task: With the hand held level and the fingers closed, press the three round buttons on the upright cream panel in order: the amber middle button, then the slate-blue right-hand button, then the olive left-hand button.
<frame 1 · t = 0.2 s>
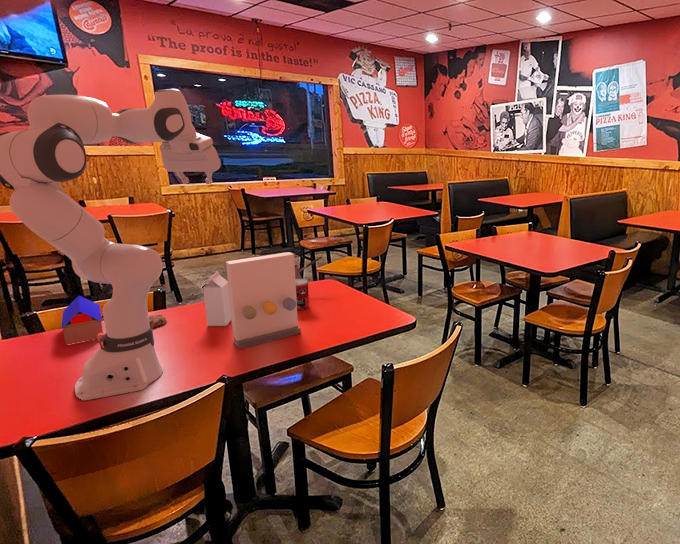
hand: (197, 183, 147), 52 cm above the table, tool tilted 20°, fingers open, 8 cm apart
amber button: (269, 307, 144), point 12 cm above the table, slide at 0.0 cm
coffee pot: (303, 292, 198), on the table
olive button: (249, 312, 141), point 12 cm above the table, slide at 0.0 cm
canned food: (299, 307, 179), on the table
slate button: (289, 303, 148), point 12 cm above the table, slide at 0.0 cm
button panel: (266, 336, 152), on the table
cookie: (152, 325, 165), on the table
house: (85, 333, 160), on the table
milk carton: (220, 323, 165), on the table
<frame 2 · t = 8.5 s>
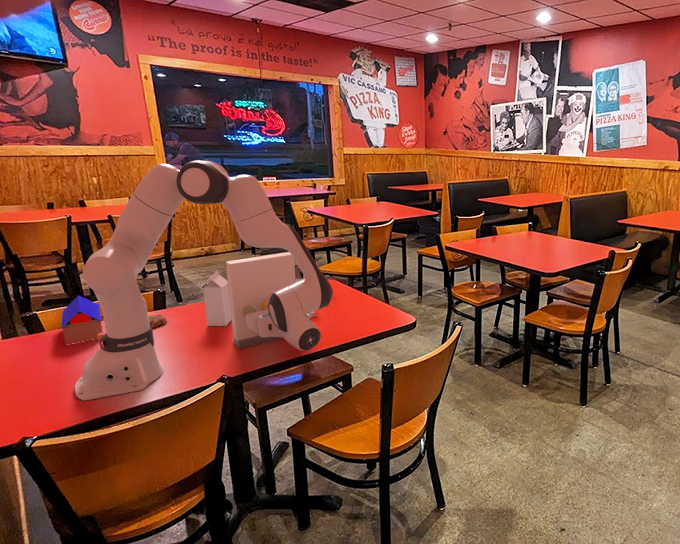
hand: (269, 308, 144), 12 cm above the table, tool horizontal, fingers closed, pressing on amber button
amber button: (268, 307, 145), point 12 cm above the table, slide at 1.0 cm, touching gripper
everything else where it was.
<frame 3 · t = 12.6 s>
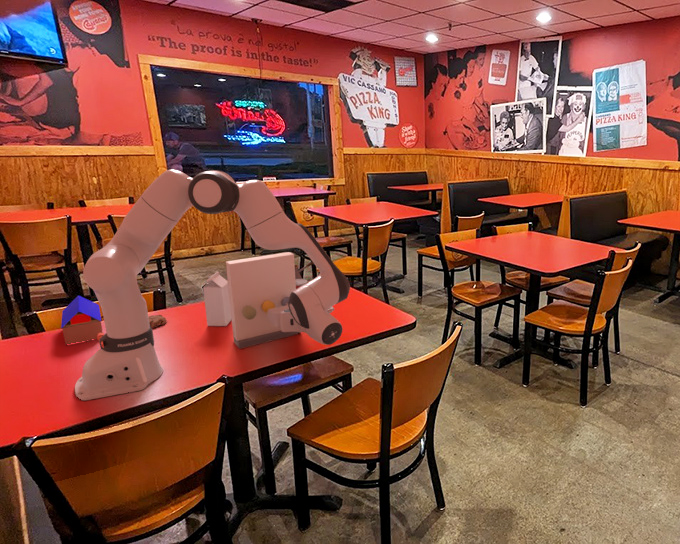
hand: (289, 304, 147), 12 cm above the table, tool horizontal, fingers closed, pressing on slate button
amber button: (268, 306, 145), point 12 cm above the table, slide at 1.3 cm
slate button: (287, 302, 149), point 12 cm above the table, slide at 1.0 cm, touching gripper
everything else where it was.
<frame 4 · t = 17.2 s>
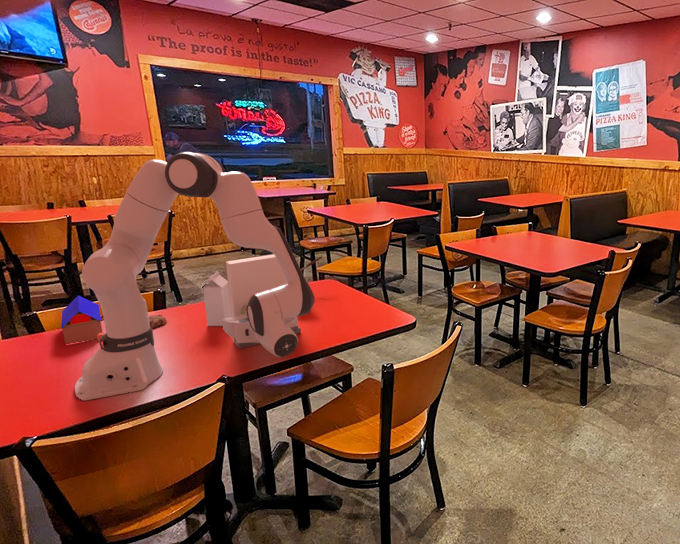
hand: (249, 312, 141), 12 cm above the table, tool horizontal, fingers closed, pressing on olive button
olive button: (248, 311, 142), point 12 cm above the table, slide at 1.0 cm, touching gripper
slate button: (287, 302, 149), point 12 cm above the table, slide at 1.3 cm
everything else where it was.
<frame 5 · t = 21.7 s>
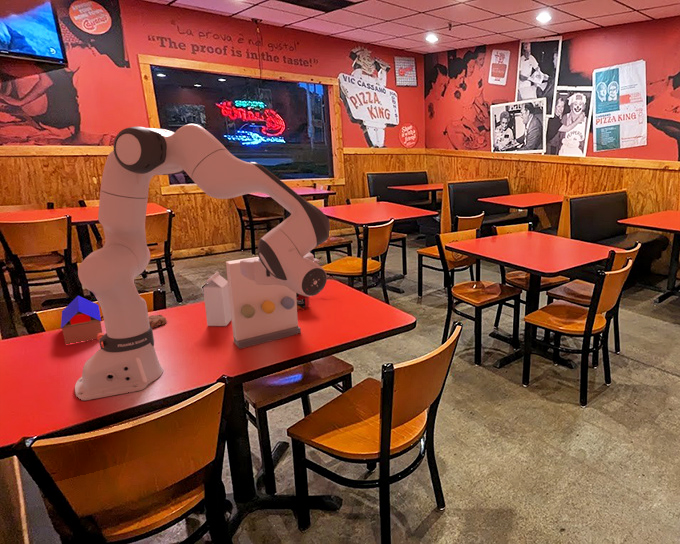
hand: (267, 257, 127), 32 cm above the table, tool horizontal, fingers closed
olive button: (247, 311, 142), point 12 cm above the table, slide at 1.3 cm
everything else where it was.
at the end: amber button slide at 1.3 cm; slate button slide at 1.3 cm; olive button slide at 1.3 cm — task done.
